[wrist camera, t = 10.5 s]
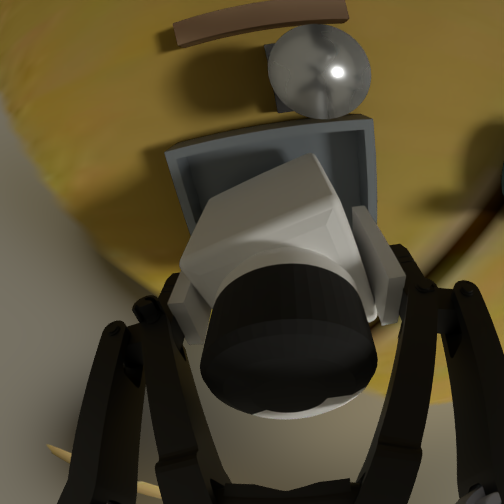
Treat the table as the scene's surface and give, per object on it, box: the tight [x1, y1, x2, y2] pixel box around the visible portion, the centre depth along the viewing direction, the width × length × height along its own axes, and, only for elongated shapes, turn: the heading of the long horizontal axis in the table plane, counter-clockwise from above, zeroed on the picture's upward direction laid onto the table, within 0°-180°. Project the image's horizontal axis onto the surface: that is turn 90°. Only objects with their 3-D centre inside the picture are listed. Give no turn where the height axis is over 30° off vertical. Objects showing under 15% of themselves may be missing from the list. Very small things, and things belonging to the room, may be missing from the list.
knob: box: [264, 24, 371, 119], centre depth 13 cm, size 5×5×6 cm
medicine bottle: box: [179, 153, 378, 419], centre depth 13 cm, size 7×7×12 cm
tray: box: [164, 114, 377, 235], centre depth 19 cm, size 12×12×2 cm
